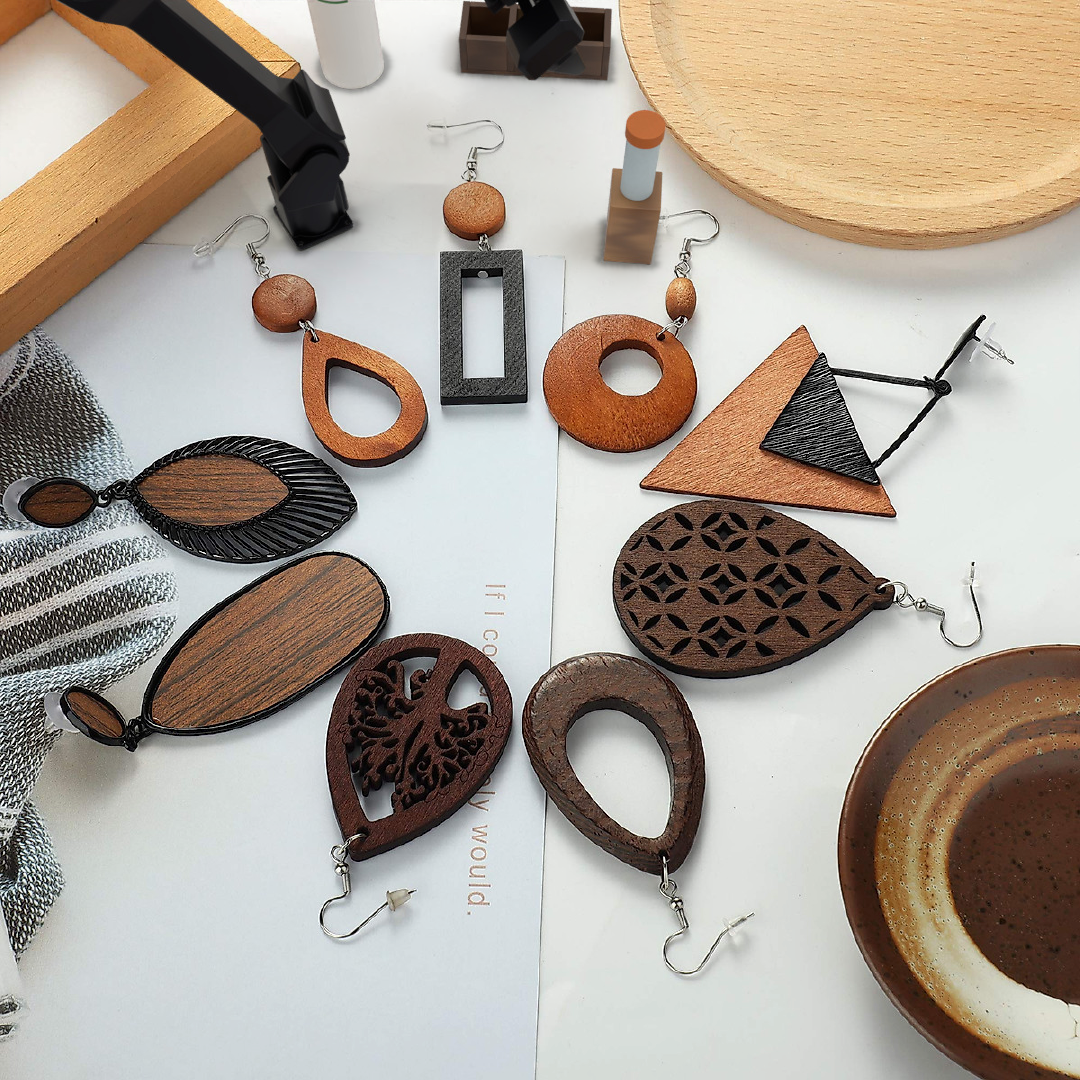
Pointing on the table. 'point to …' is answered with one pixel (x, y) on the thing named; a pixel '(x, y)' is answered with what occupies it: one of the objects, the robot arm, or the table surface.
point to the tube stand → (631, 223)
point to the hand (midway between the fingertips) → (564, 38)
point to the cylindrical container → (347, 41)
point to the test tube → (641, 153)
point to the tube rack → (492, 56)
